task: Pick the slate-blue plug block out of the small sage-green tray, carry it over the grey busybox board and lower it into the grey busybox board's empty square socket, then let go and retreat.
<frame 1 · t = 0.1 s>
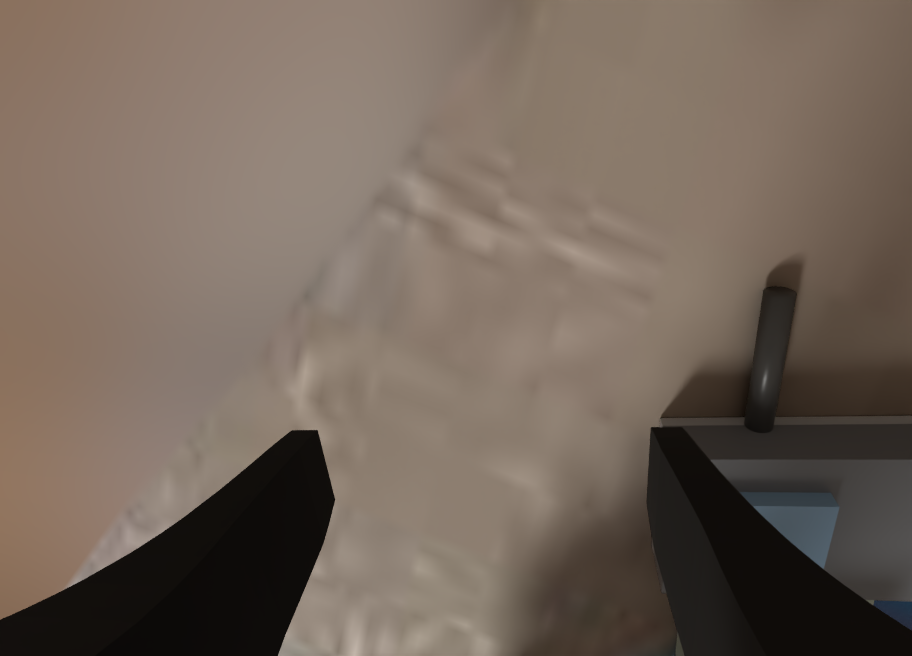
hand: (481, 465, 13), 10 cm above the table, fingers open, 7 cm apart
grey busybox board: (862, 487, 24), on the table
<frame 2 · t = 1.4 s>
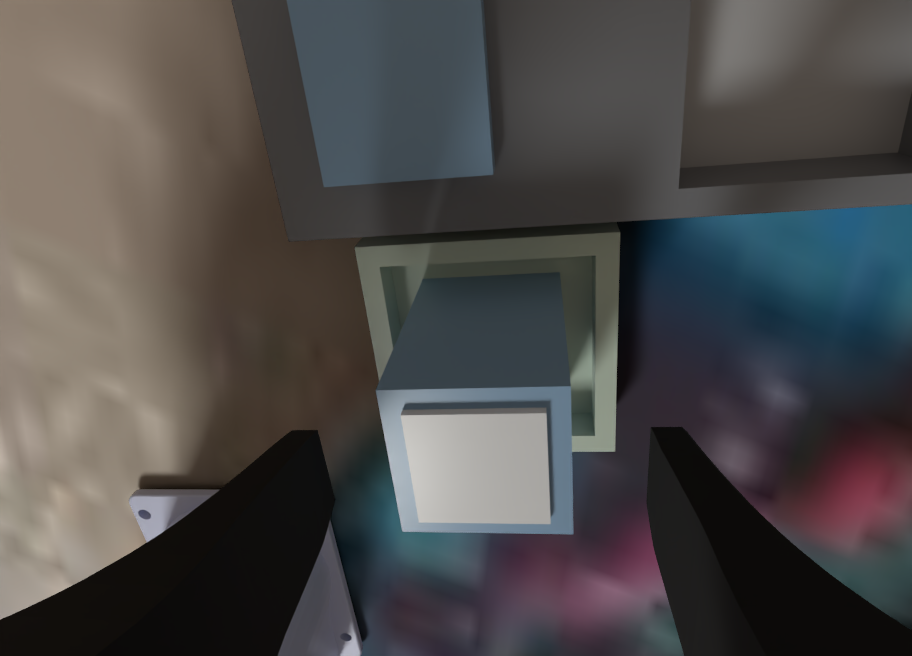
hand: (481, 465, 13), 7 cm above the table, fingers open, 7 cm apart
tray: (496, 327, 19), on the table
plug: (495, 336, 18), point 1 cm above the table, touching tray
grey busybox board: (594, 57, 15), on the table
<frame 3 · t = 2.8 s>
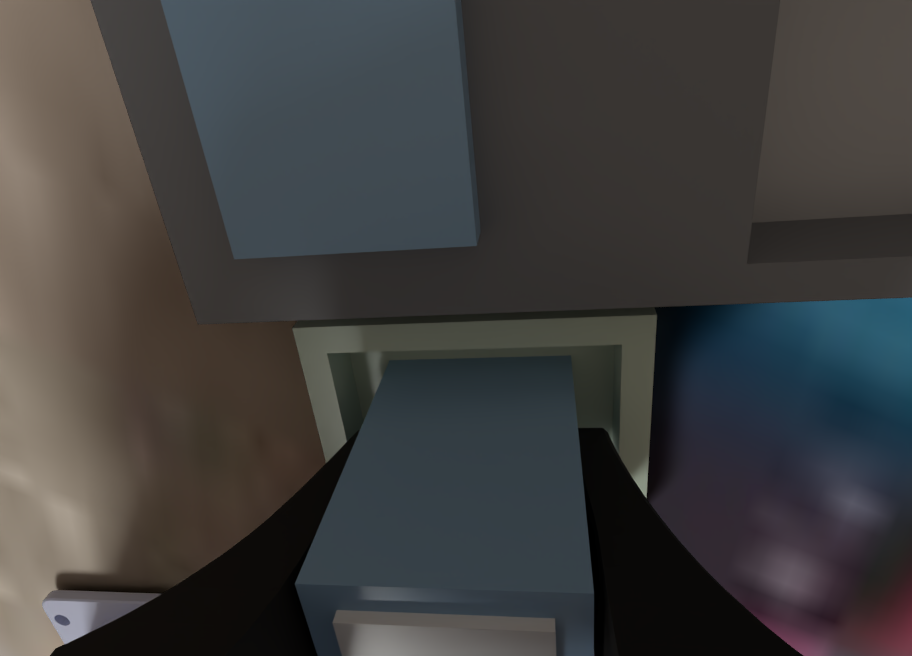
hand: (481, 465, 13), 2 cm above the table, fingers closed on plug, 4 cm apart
tray: (487, 416, 15), on the table
plug: (485, 431, 14), point 1 cm above the table, touching gripper, tray
grey busybox board: (621, 71, 11), on the table
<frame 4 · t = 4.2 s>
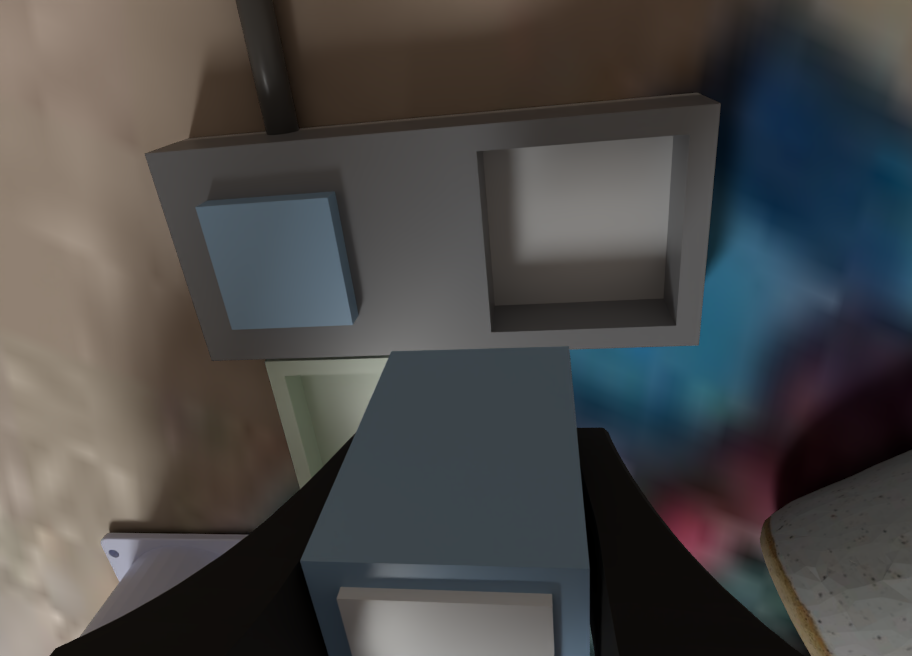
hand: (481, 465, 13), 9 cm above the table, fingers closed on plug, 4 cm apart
tray: (386, 412, 24), on the table
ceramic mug: (890, 513, 24), on the table
plug: (485, 421, 14), point 8 cm above the table, touching gripper
grey busybox board: (439, 225, 20), on the table
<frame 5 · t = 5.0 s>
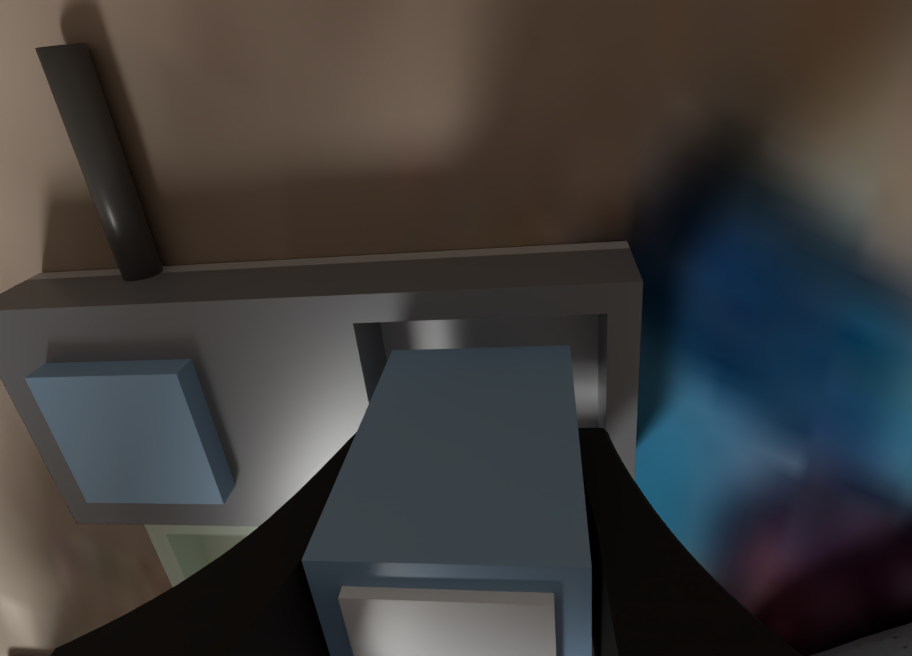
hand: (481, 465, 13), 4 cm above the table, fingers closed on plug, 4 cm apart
tray: (295, 556, 21), on the table
plug: (485, 420, 14), point 3 cm above the table, touching gripper
grey busybox board: (336, 372, 17), on the table
when the fingers open (3 cm above the table, at t = 5.6 s): plug stays where it is, resting on grey busybox board.
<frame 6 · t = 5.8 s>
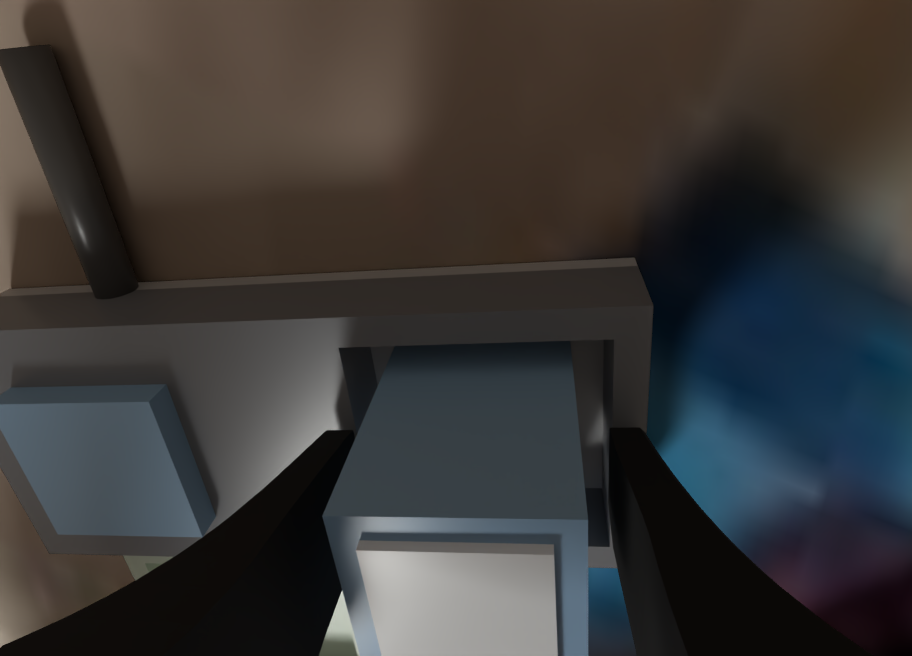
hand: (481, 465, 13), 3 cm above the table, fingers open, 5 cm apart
tray: (283, 583, 20), on the table
plug: (489, 400, 15), resting on grey busybox board
grey busybox board: (324, 394, 16), on the table
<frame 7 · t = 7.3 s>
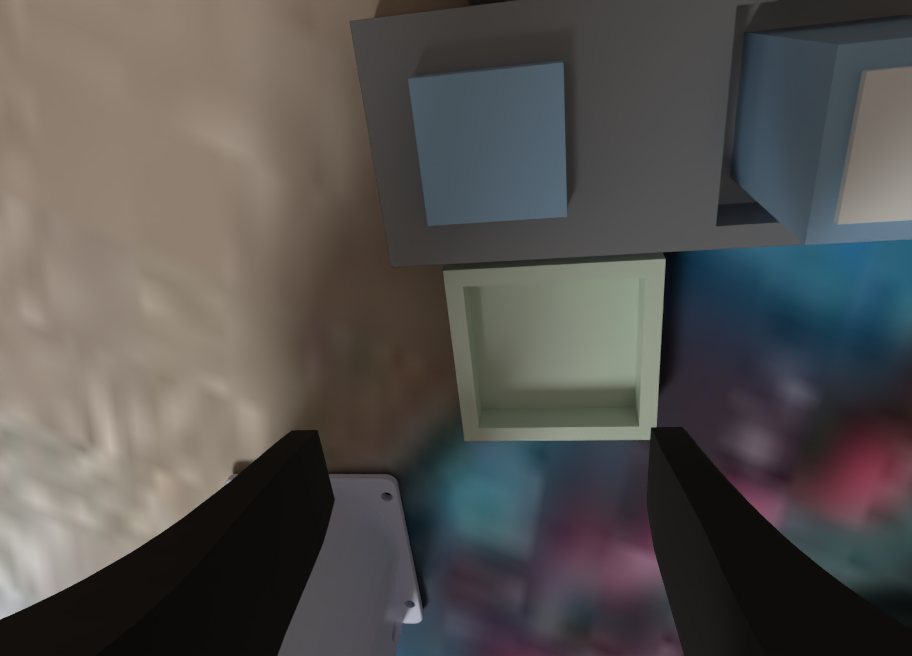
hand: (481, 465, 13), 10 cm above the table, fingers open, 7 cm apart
tray: (553, 334, 22), on the table
plug: (810, 101, 17), resting on grey busybox board
grey busybox board: (644, 115, 18), on the table
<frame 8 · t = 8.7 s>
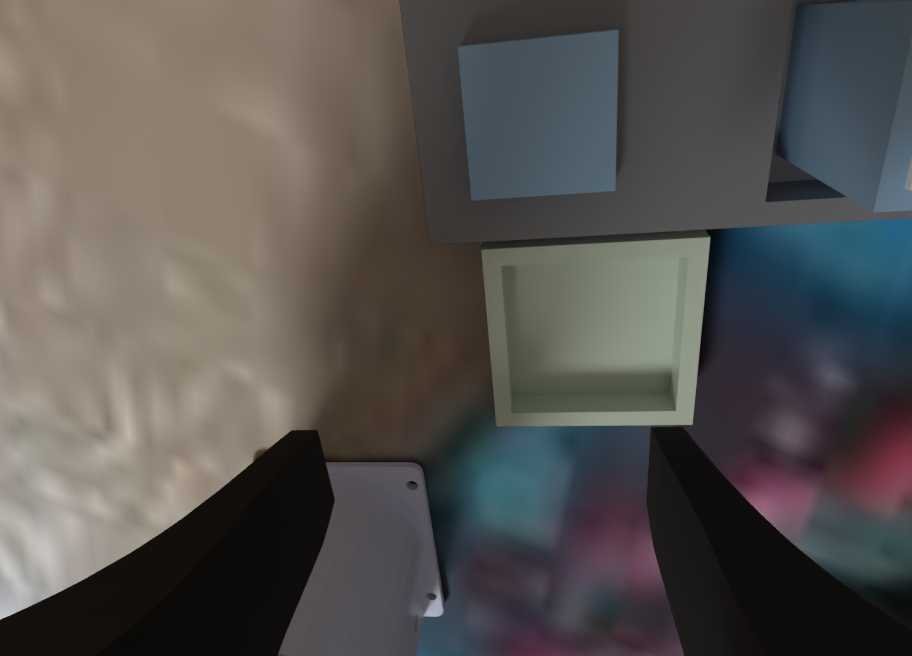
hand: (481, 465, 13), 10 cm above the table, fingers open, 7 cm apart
tray: (588, 317, 22), on the table
plug: (861, 76, 17), resting on grey busybox board
grey busybox board: (690, 91, 18), on the table
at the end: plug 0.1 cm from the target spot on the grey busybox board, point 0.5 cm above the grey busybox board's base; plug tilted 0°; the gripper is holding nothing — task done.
